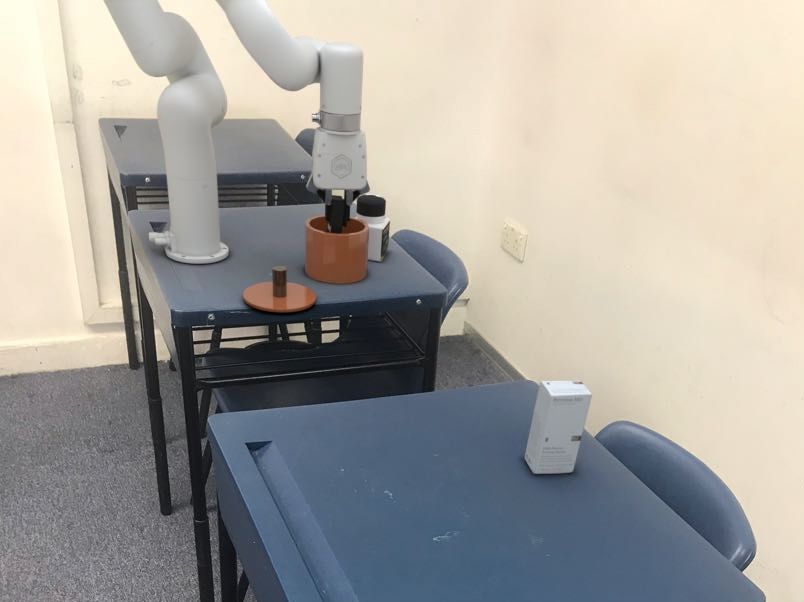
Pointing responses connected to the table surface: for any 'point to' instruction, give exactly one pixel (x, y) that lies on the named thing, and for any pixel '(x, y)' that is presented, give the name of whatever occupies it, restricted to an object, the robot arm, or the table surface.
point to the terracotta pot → (336, 251)
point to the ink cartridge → (336, 215)
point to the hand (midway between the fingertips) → (337, 223)
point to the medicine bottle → (374, 224)
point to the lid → (279, 294)
